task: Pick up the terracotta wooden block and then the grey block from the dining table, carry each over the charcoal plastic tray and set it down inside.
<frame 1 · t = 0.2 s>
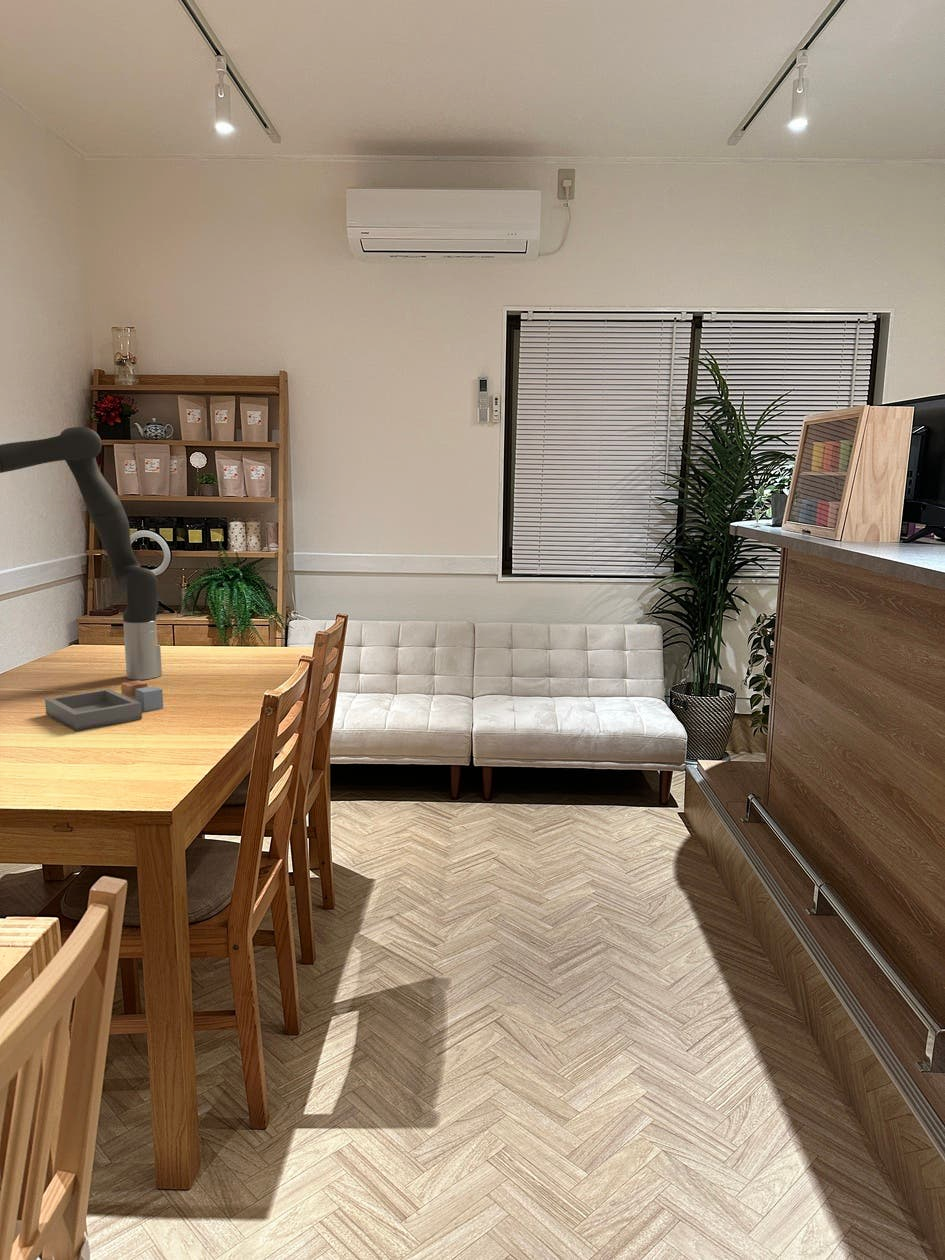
grey block: (149, 707, 224), on the table
charcoal tray: (93, 716, 215), on the table
terracotta block: (135, 701, 230), on the table
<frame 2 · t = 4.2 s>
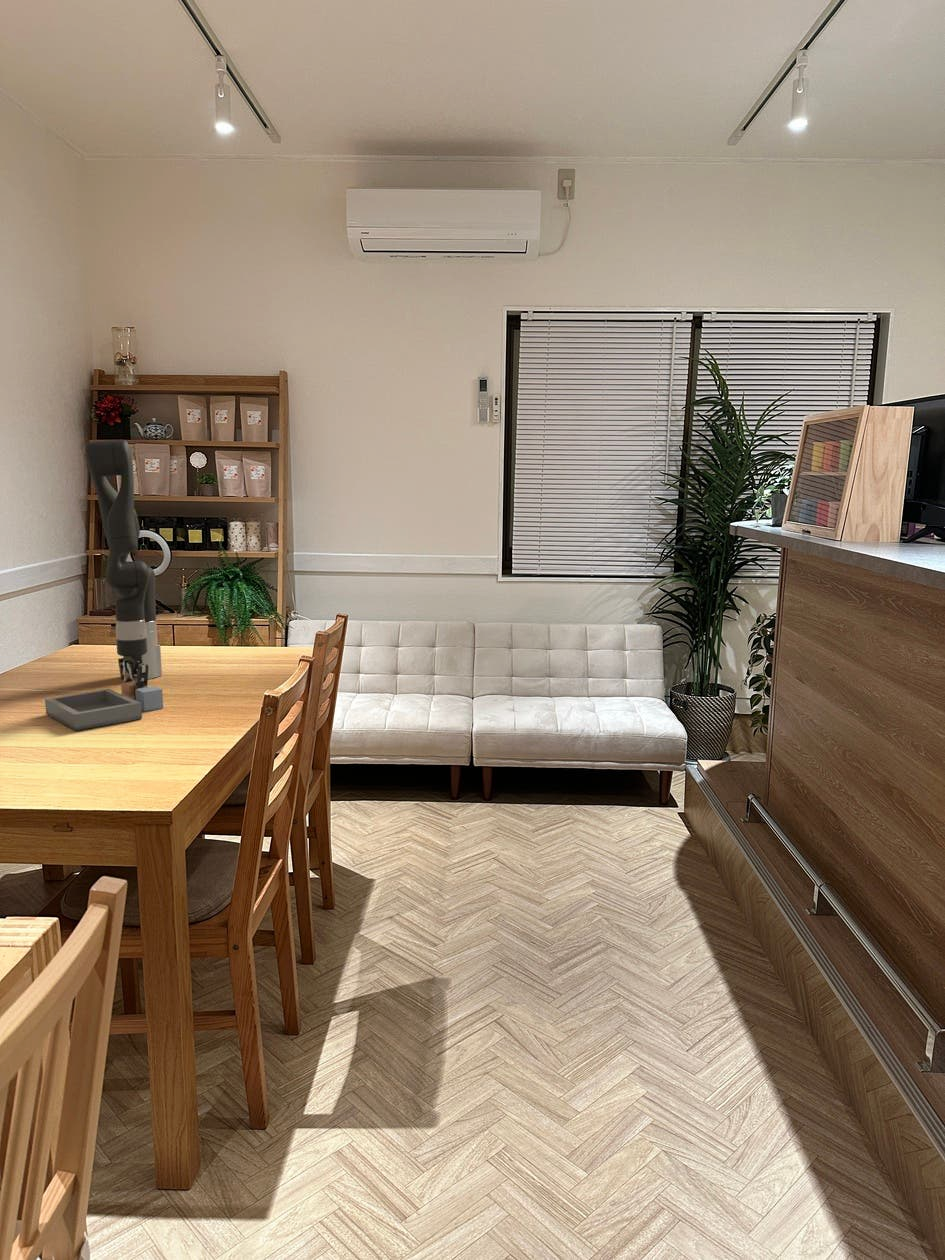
hand: (135, 698, 230), 1 cm above the table, fingers closed on terracotta block, 5 cm apart
terracotta block: (135, 701, 230), on the table, touching gripper
everything else where it was.
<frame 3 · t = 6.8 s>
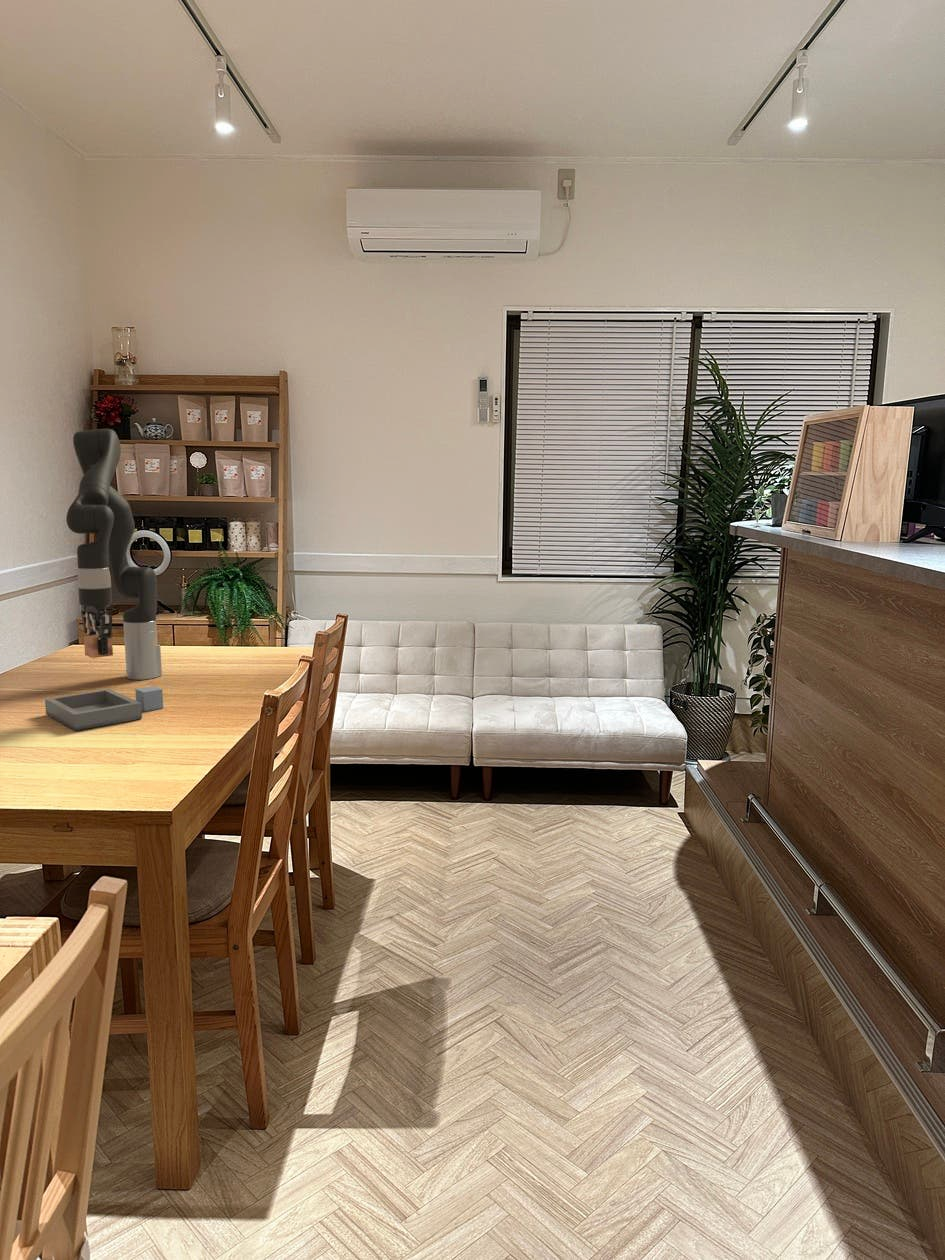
hand: (98, 652, 216), 16 cm above the table, fingers closed on terracotta block, 5 cm apart
terracotta block: (99, 655, 216), point 15 cm above the table, touching gripper
everything else where it was.
when the fingers open (3 cm above the table, at t = 9.5 s): terracotta block drops 2 cm, resting on charcoal tray.
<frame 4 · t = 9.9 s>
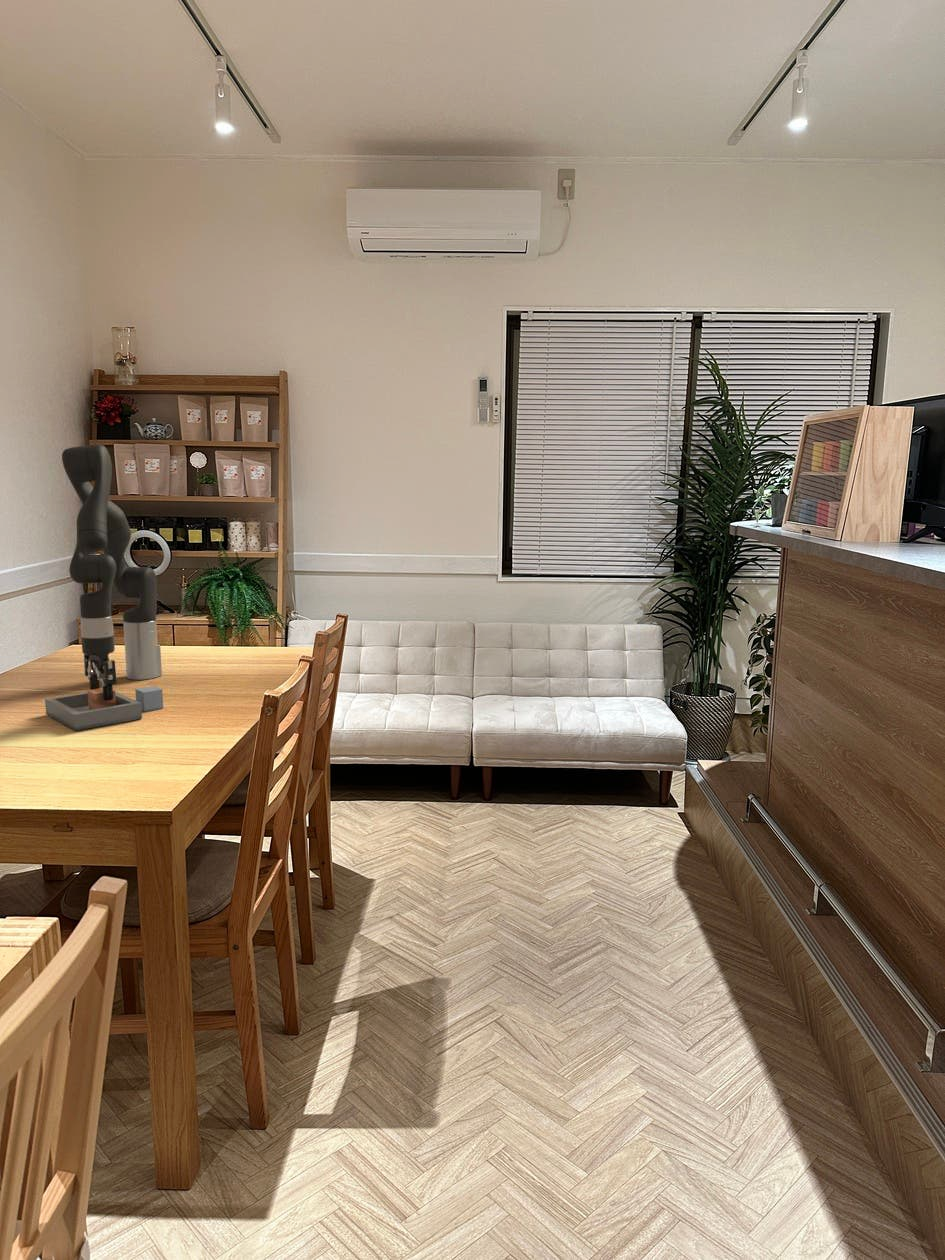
hand: (101, 697, 218), 4 cm above the table, fingers open, 8 cm apart
terracotta block: (102, 709, 218), point 1 cm above the table, touching charcoal tray
everything else where it was.
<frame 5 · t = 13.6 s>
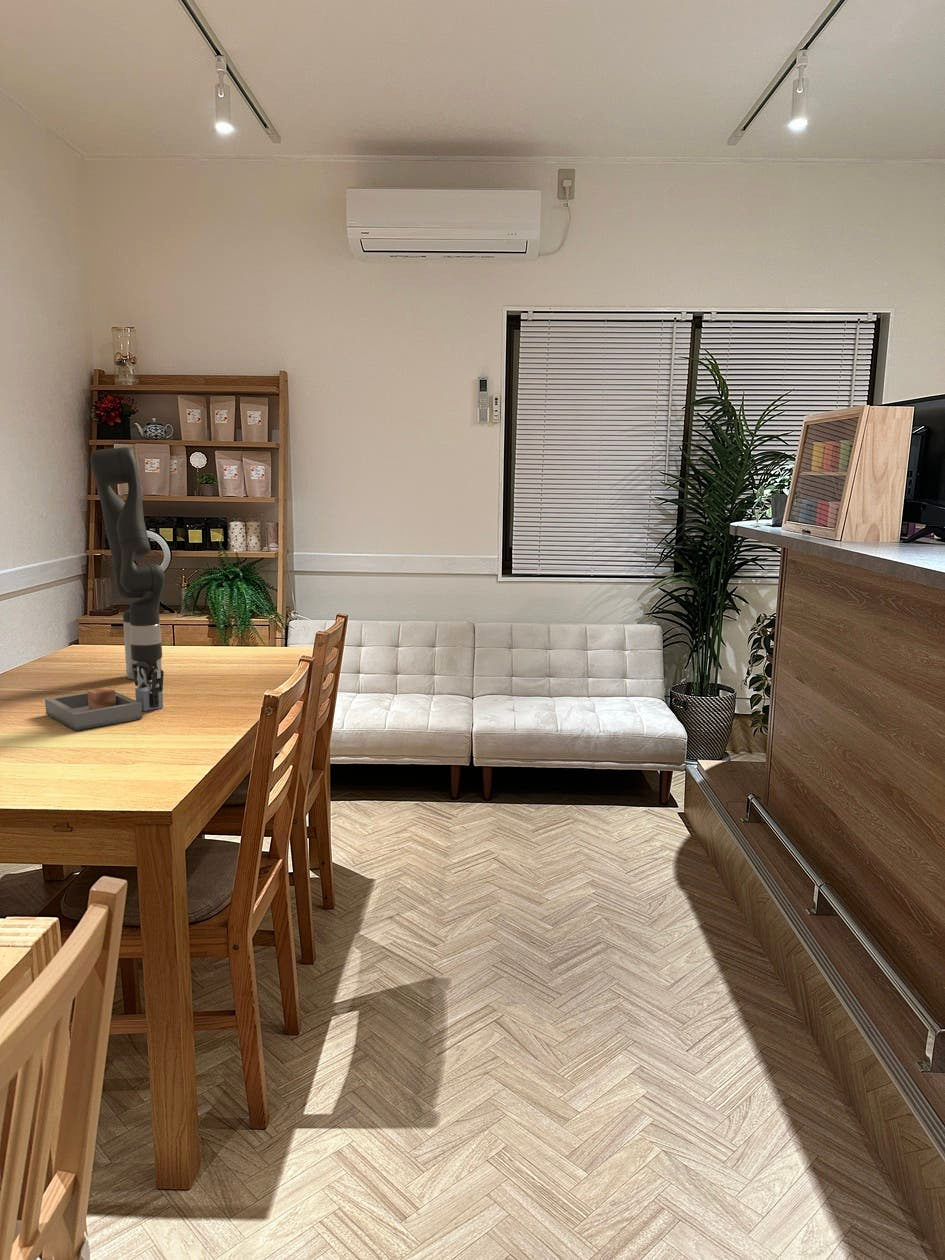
hand: (149, 704, 224), 1 cm above the table, fingers closed on grey block, 5 cm apart
grey block: (149, 707, 224), on the table, touching gripper
everything else where it was.
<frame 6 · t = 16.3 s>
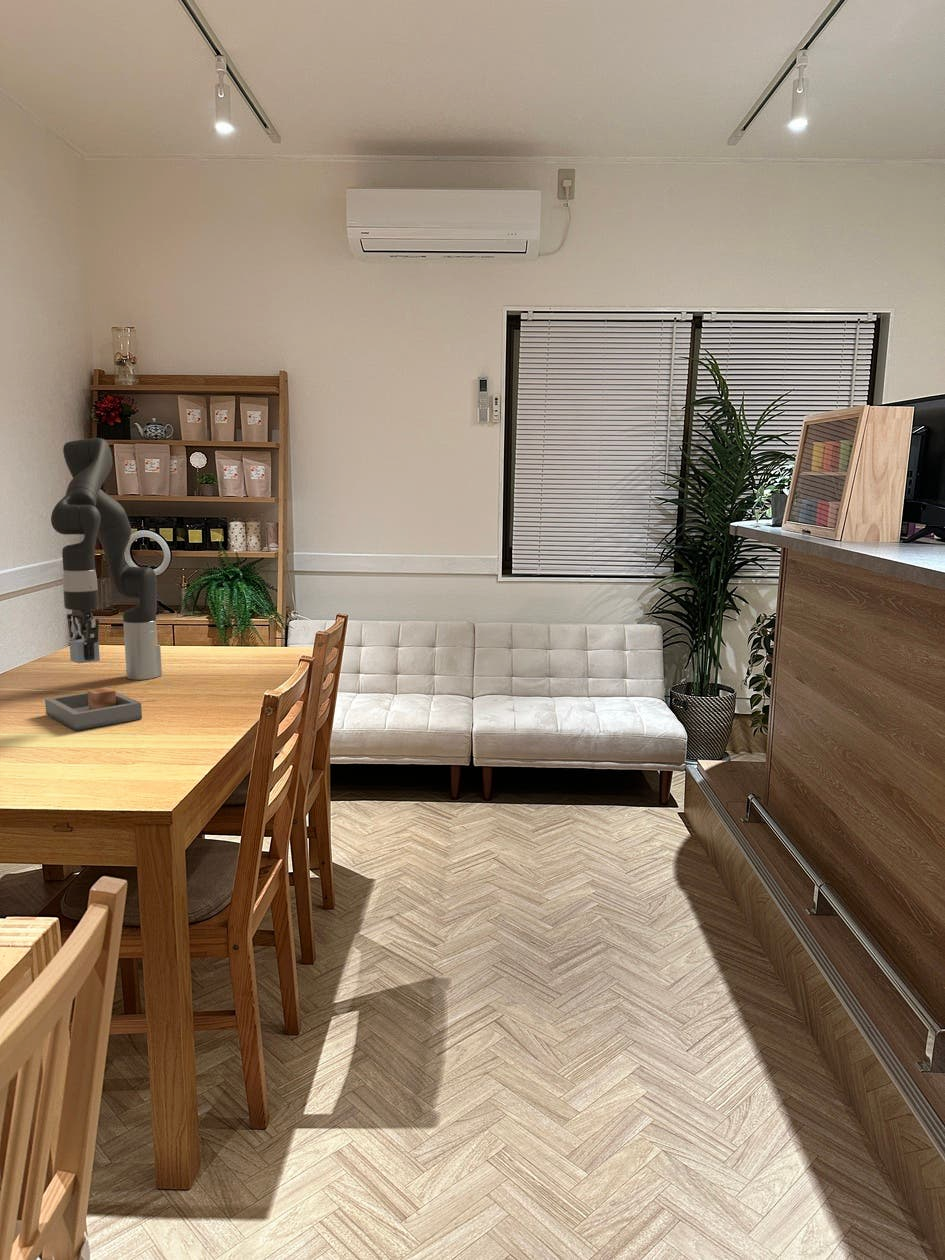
hand: (84, 657, 208), 16 cm above the table, fingers closed on grey block, 5 cm apart
grey block: (85, 660, 208), point 15 cm above the table, touching gripper
everything else where it was.
when the fingers open (3 cm above the table, at t = 19.2 s): grey block drops 2 cm, resting on charcoal tray.
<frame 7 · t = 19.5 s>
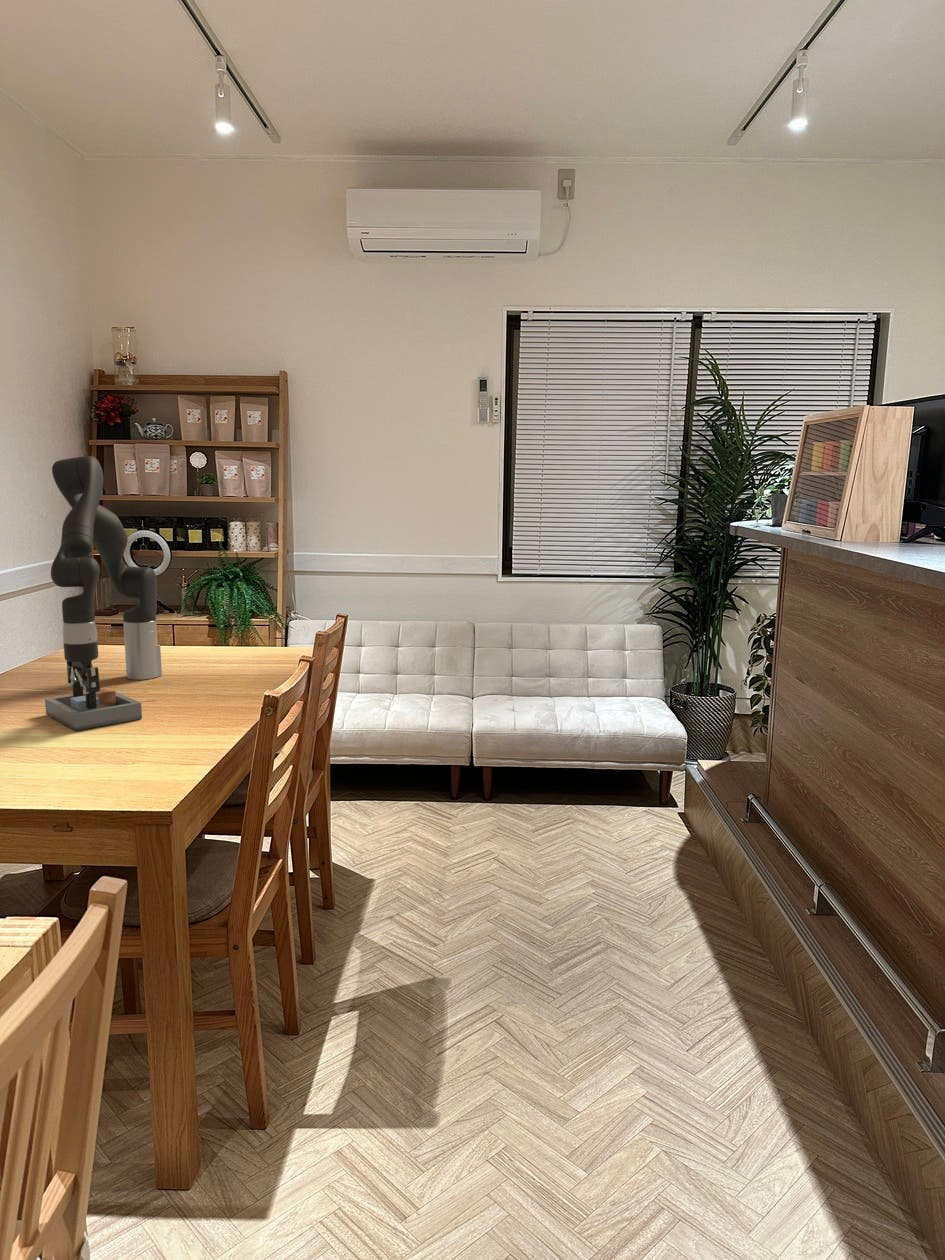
hand: (84, 705, 210), 4 cm above the table, fingers open, 8 cm apart
grey block: (85, 717, 211), point 1 cm above the table, touching charcoal tray
everything else where it was.
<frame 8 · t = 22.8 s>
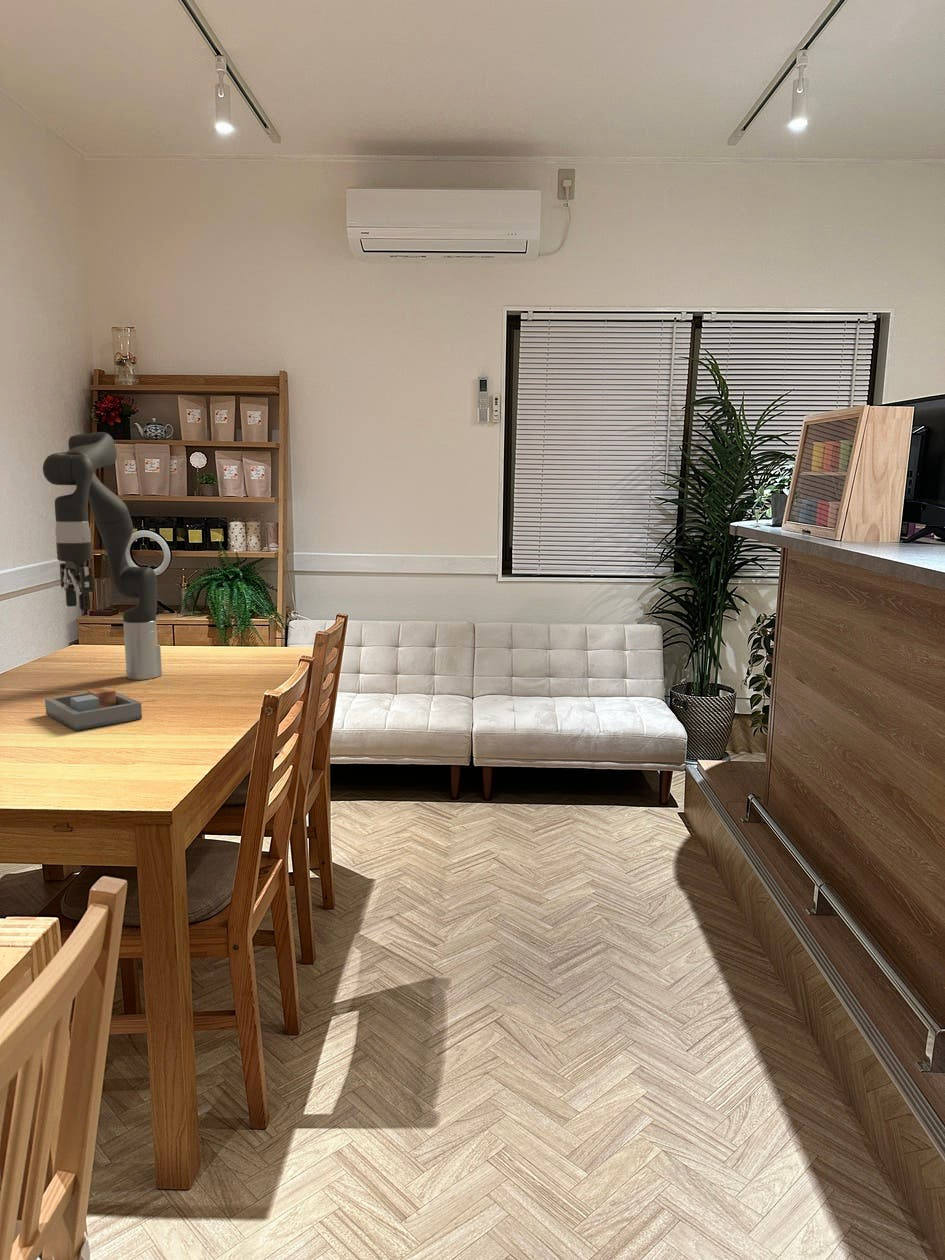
hand: (78, 608, 206), 28 cm above the table, fingers open, 8 cm apart
nothing on the table moved.
at the end: terracotta block inside the target area on the charcoal tray (3.6 cm from its centre), point 0.8 cm above the charcoal tray's base; grey block inside the target area on the charcoal tray (4.2 cm from its centre), point 0.8 cm above the charcoal tray's base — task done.
